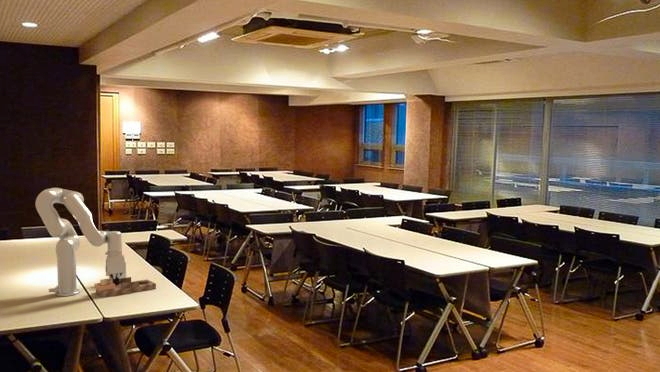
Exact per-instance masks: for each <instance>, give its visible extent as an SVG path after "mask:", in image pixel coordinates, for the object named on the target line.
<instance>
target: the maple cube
mask: <svg viewBox="0 0 660 372" xmlns="http://www.w3.org/2000/svg"><path fill="white" fill-rule="evenodd" d="M99 281H100V282H99V283H100V286H105V285H111V284H112V280H111V279H110V278H109V277H108V278H102V279H100V280H99Z"/></svg>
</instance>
